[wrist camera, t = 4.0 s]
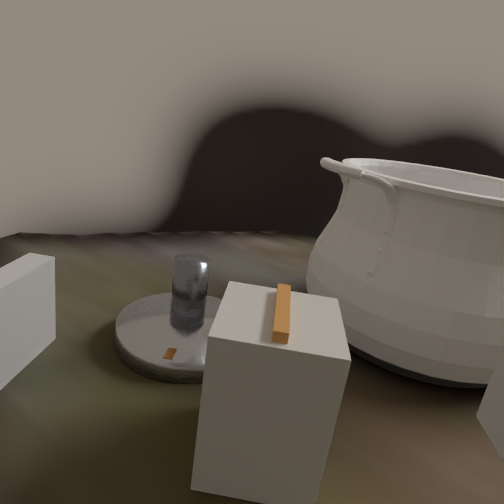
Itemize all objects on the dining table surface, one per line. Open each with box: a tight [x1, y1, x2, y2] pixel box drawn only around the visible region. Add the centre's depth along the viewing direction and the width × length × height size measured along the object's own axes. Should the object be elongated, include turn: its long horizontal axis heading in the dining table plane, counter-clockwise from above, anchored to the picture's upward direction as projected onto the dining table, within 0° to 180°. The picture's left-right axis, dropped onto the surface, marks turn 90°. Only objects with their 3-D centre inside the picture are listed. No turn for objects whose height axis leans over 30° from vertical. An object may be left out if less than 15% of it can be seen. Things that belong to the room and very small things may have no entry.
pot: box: [306, 158, 504, 389], centre depth 43 cm, size 28×24×17 cm
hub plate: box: [115, 253, 222, 384], centre depth 36 cm, size 12×12×8 cm
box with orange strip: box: [190, 281, 351, 504], centre depth 25 cm, size 7×7×11 cm
